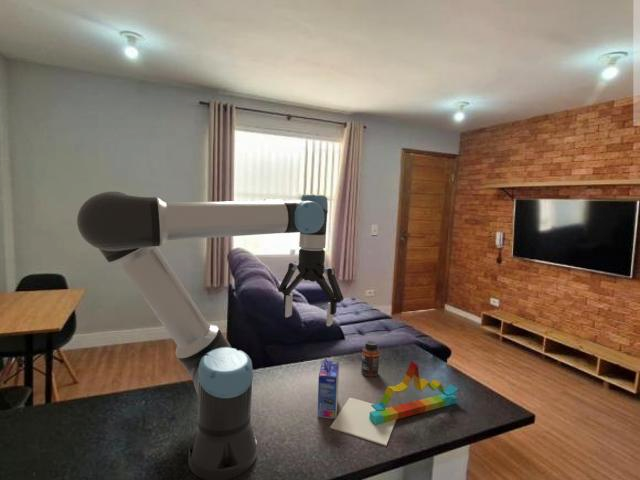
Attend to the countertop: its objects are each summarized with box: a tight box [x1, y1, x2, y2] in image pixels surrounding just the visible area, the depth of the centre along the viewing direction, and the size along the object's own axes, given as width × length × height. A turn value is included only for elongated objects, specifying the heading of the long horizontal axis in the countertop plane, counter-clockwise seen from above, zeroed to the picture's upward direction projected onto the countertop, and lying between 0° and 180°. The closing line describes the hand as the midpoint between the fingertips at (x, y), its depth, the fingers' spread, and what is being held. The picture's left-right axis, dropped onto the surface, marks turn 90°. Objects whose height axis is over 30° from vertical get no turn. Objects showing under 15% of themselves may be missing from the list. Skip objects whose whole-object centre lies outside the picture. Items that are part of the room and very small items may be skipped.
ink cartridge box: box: [317, 357, 340, 420], centre depth 101 cm, size 10×6×14 cm, turn 174°
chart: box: [369, 361, 459, 425], centre depth 101 cm, size 30×3×15 cm, turn 117°
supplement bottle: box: [360, 340, 380, 377], centre depth 124 cm, size 6×6×11 cm
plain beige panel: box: [329, 397, 397, 447], centre depth 97 cm, size 15×16×1 cm
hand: (308, 320), depth 103 cm, fingers open, 13 cm apart
